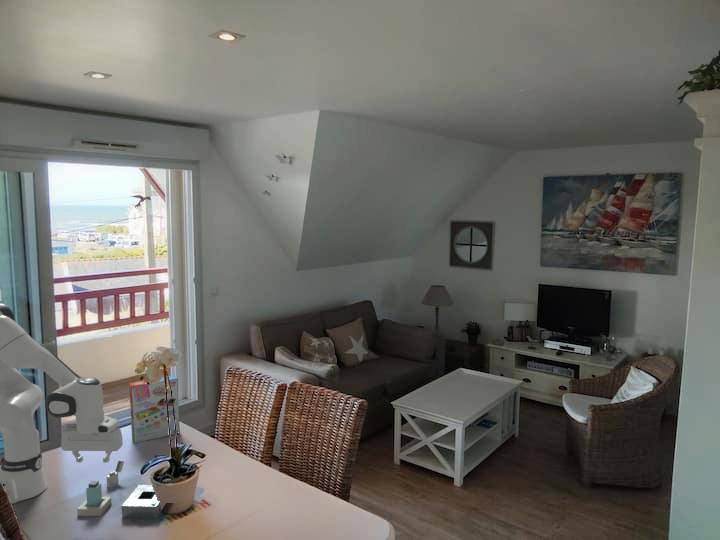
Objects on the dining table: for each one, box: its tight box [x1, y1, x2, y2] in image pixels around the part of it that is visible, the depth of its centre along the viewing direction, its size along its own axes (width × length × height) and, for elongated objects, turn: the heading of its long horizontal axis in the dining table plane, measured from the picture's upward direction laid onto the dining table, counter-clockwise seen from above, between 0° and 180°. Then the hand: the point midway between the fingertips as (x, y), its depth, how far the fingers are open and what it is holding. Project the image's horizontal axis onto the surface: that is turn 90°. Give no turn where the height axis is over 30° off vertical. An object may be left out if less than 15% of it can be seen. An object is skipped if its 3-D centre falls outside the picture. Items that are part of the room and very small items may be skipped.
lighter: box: [106, 460, 125, 489], centre depth 204 cm, size 7×2×8 cm, turn 156°
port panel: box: [121, 484, 162, 520], centre depth 188 cm, size 12×14×5 cm
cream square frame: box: [76, 496, 112, 517], centre depth 187 cm, size 8×8×2 cm
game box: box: [128, 375, 181, 444], centre depth 245 cm, size 21×6×27 cm, turn 123°
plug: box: [85, 480, 103, 507], centre depth 186 cm, size 4×4×10 cm
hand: (93, 461), depth 185 cm, fingers open, 8 cm apart
